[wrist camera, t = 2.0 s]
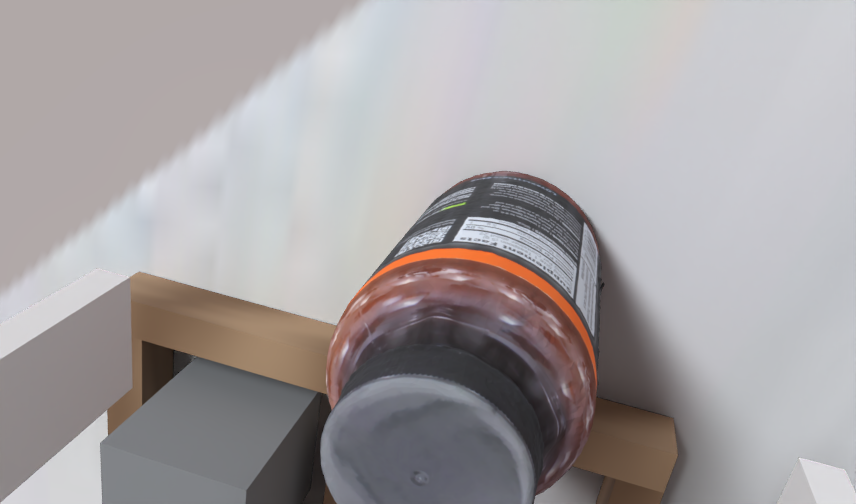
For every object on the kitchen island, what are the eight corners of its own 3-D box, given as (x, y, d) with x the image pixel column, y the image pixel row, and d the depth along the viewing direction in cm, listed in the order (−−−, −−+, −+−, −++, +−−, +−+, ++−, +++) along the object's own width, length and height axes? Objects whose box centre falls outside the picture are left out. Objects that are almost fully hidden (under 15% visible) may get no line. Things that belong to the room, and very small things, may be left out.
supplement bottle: (522, 369, 24) (452, 660, 14) (386, 263, 24) (210, 475, 13) (644, 246, 21) (670, 488, 11) (491, 125, 21) (374, 258, 11)
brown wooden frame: (673, 418, 23) (678, 455, 21) (593, 636, 27) (592, 683, 25) (139, 271, 26) (103, 292, 25) (140, 485, 30) (110, 517, 29)
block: (310, 487, 28) (238, 607, 23) (199, 452, 29) (104, 560, 24) (322, 385, 26) (246, 490, 21) (203, 351, 27) (100, 442, 22)
